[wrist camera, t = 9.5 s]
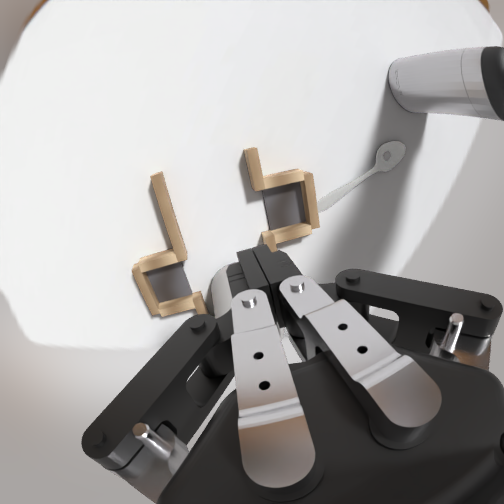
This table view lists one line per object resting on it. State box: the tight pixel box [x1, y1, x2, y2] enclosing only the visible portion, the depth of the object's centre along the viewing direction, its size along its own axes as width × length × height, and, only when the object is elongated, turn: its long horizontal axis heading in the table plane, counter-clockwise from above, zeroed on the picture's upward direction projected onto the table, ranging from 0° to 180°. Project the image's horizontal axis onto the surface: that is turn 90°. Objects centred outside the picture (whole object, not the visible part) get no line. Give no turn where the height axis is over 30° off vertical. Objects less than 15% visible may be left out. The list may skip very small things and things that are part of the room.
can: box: [211, 262, 285, 341], centre depth 33 cm, size 8×8×12 cm
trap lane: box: [132, 147, 320, 317], centre depth 34 cm, size 25×23×3 cm
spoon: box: [317, 141, 406, 212], centre depth 35 cm, size 4×21×2 cm, turn 126°
